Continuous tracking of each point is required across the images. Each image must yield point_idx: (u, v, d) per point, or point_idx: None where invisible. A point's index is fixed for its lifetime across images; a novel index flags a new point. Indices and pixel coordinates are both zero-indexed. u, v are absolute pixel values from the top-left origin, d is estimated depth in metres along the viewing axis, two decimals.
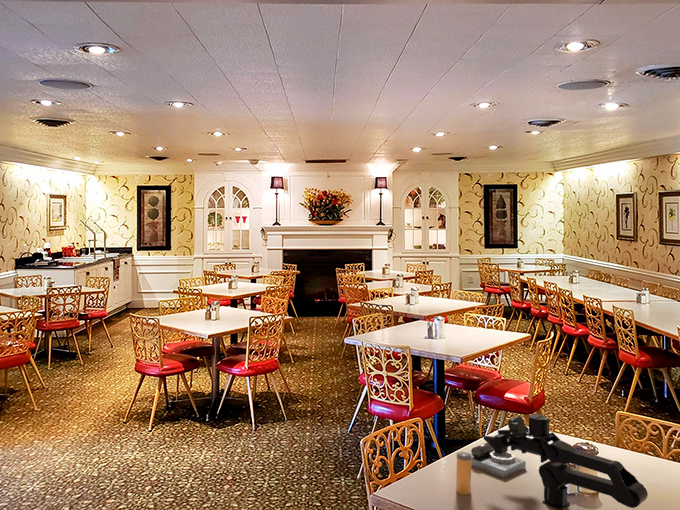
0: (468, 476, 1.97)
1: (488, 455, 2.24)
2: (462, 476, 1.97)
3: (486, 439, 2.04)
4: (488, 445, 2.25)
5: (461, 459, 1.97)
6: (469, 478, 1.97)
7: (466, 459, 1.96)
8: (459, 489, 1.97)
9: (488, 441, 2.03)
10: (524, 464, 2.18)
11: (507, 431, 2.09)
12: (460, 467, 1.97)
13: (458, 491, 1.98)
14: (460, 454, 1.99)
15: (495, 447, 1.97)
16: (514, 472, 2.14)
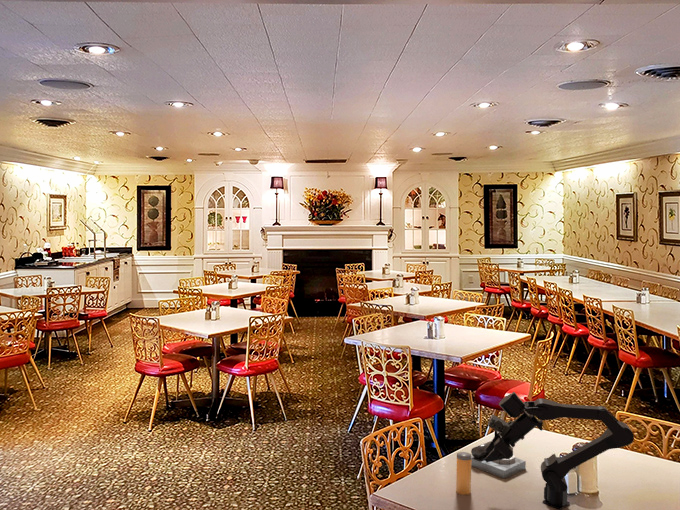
0: (468, 476, 1.97)
1: None
2: (462, 476, 1.97)
3: (489, 459, 1.91)
4: None
5: (461, 459, 1.97)
6: (469, 478, 1.97)
7: (466, 459, 1.96)
8: (459, 489, 1.97)
9: (492, 459, 1.91)
10: (524, 464, 2.18)
11: (493, 441, 2.00)
12: (460, 467, 1.97)
13: (458, 491, 1.98)
14: (460, 454, 1.99)
15: (504, 453, 1.86)
16: (514, 472, 2.14)
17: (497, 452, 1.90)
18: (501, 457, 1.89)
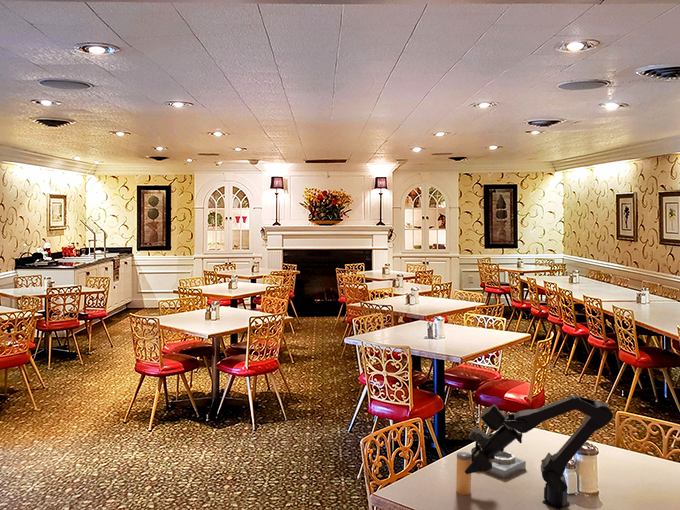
0: (468, 476, 1.97)
1: None
2: (462, 476, 1.97)
3: (469, 471, 1.93)
4: None
5: (461, 459, 1.97)
6: (469, 478, 1.97)
7: (466, 459, 1.96)
8: (459, 489, 1.97)
9: (472, 470, 1.93)
10: (524, 464, 2.18)
11: (473, 453, 2.02)
12: (460, 467, 1.97)
13: (458, 491, 1.98)
14: (460, 454, 1.99)
15: (483, 465, 1.88)
16: (514, 472, 2.14)
17: (477, 464, 1.92)
18: (481, 469, 1.91)
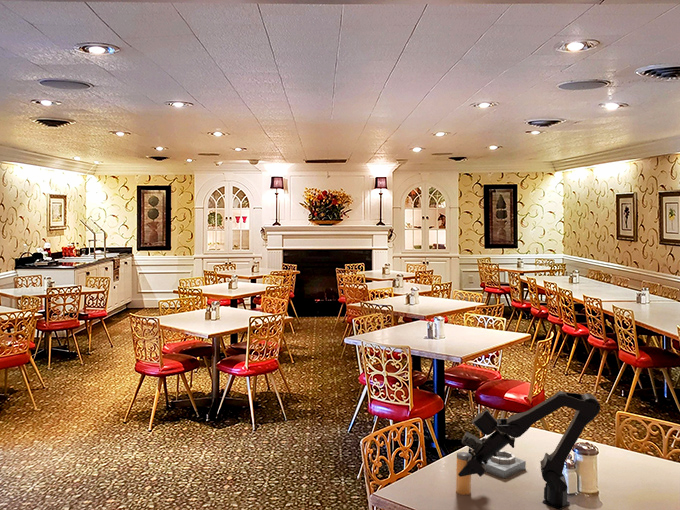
0: (468, 476, 1.97)
1: None
2: (462, 476, 1.97)
3: (462, 474, 1.96)
4: None
5: (461, 459, 1.97)
6: (469, 478, 1.97)
7: (466, 459, 1.96)
8: (459, 489, 1.97)
9: (465, 473, 1.95)
10: (524, 464, 2.18)
11: None
12: (460, 467, 1.97)
13: (458, 491, 1.98)
14: (460, 454, 1.99)
15: (476, 470, 1.88)
16: (514, 472, 2.14)
17: (470, 467, 1.94)
18: (474, 472, 1.93)
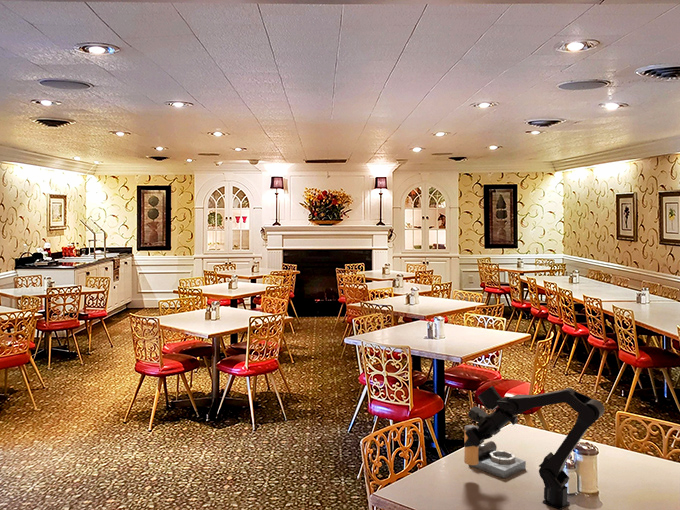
0: (473, 448, 2.07)
1: (488, 455, 2.24)
2: (467, 447, 2.08)
3: (467, 444, 2.07)
4: (488, 445, 2.25)
5: None
6: (474, 450, 2.07)
7: None
8: (465, 459, 2.09)
9: (469, 444, 2.06)
10: (524, 464, 2.18)
11: None
12: (466, 438, 2.08)
13: (465, 461, 2.09)
14: (468, 426, 2.10)
15: (472, 440, 1.99)
16: (514, 472, 2.14)
17: None
18: None
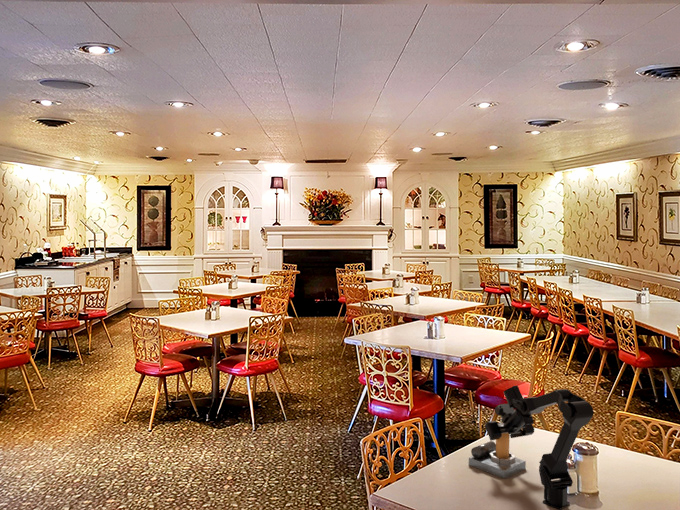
0: (501, 444, 2.18)
1: (488, 455, 2.24)
2: (496, 443, 2.20)
3: None
4: (488, 445, 2.25)
5: None
6: (502, 447, 2.18)
7: None
8: None
9: None
10: (524, 464, 2.18)
11: None
12: None
13: None
14: (500, 424, 2.21)
15: (488, 432, 2.13)
16: (514, 472, 2.14)
17: None
18: None
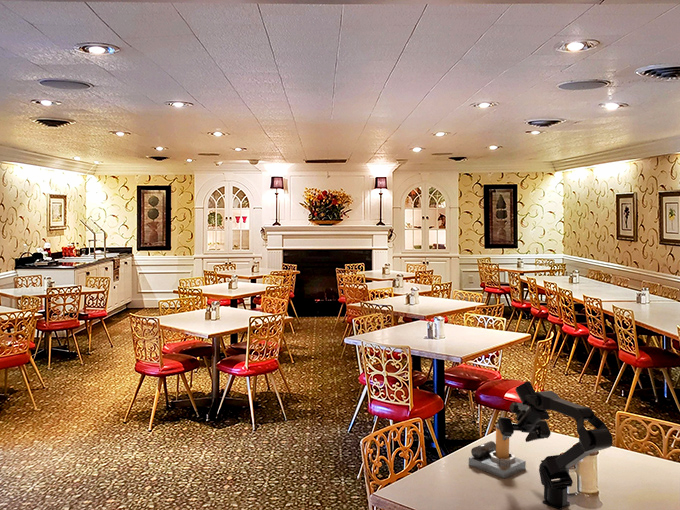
0: (501, 444, 2.18)
1: (488, 455, 2.24)
2: (496, 443, 2.20)
3: (503, 437, 2.10)
4: (488, 445, 2.25)
5: (496, 427, 2.20)
6: (502, 447, 2.18)
7: (499, 428, 2.19)
8: None
9: (504, 436, 2.09)
10: (524, 464, 2.18)
11: (530, 433, 2.11)
12: (496, 434, 2.20)
13: None
14: None
15: (500, 428, 2.05)
16: (514, 472, 2.14)
17: None
18: None
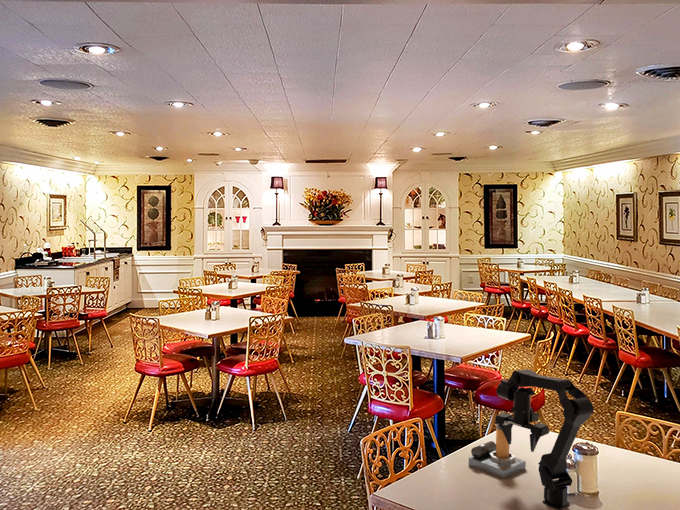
0: (501, 444, 2.18)
1: (488, 455, 2.24)
2: (496, 443, 2.20)
3: None
4: (488, 445, 2.25)
5: (496, 427, 2.20)
6: (502, 447, 2.18)
7: (499, 428, 2.18)
8: None
9: None
10: (524, 464, 2.18)
11: None
12: (496, 434, 2.20)
13: None
14: None
15: None
16: (514, 472, 2.14)
17: None
18: None
